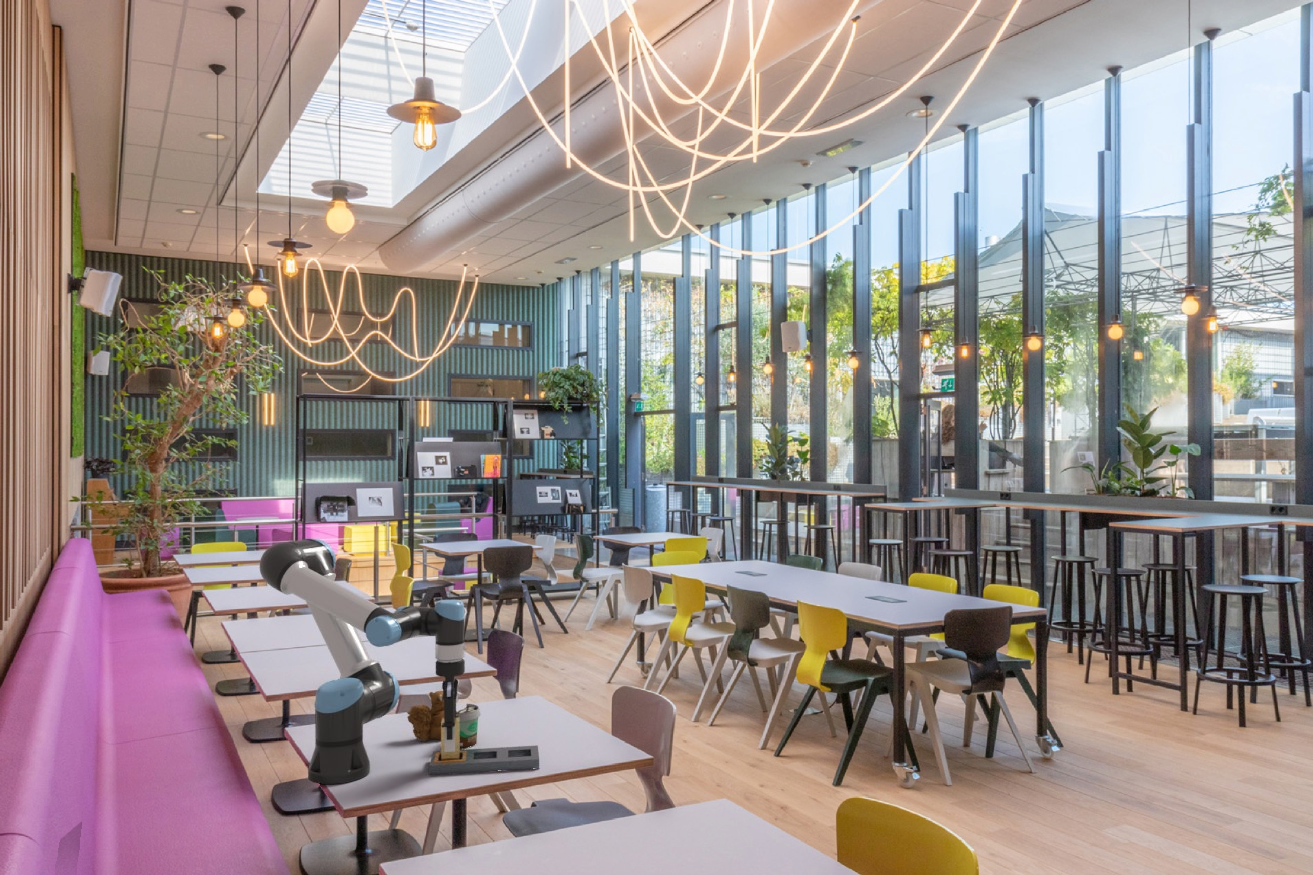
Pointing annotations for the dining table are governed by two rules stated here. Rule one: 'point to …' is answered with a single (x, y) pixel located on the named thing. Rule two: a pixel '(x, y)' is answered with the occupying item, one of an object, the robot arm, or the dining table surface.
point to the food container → (468, 725)
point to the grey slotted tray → (486, 760)
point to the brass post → (455, 754)
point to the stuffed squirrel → (428, 718)
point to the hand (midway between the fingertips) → (450, 748)
